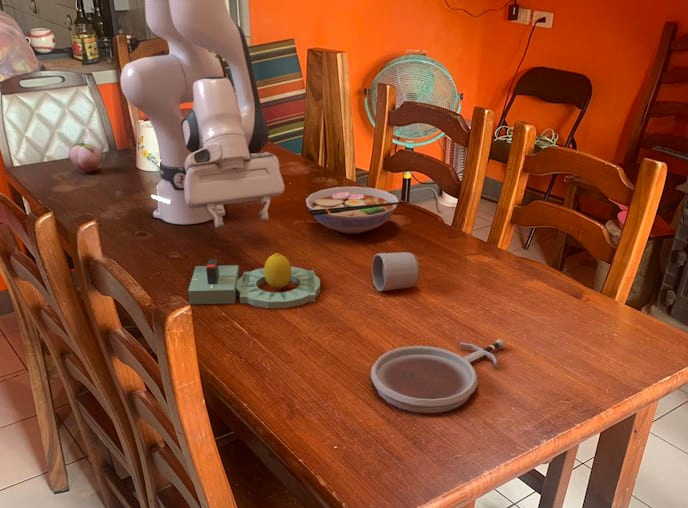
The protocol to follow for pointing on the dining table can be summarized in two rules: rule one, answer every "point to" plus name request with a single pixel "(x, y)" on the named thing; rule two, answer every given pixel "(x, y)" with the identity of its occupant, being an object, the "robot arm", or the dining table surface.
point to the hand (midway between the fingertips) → (242, 223)
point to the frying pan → (428, 377)
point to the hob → (296, 297)
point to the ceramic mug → (395, 271)
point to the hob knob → (212, 271)
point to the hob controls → (214, 286)
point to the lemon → (277, 271)
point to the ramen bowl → (352, 208)
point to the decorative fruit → (85, 156)
